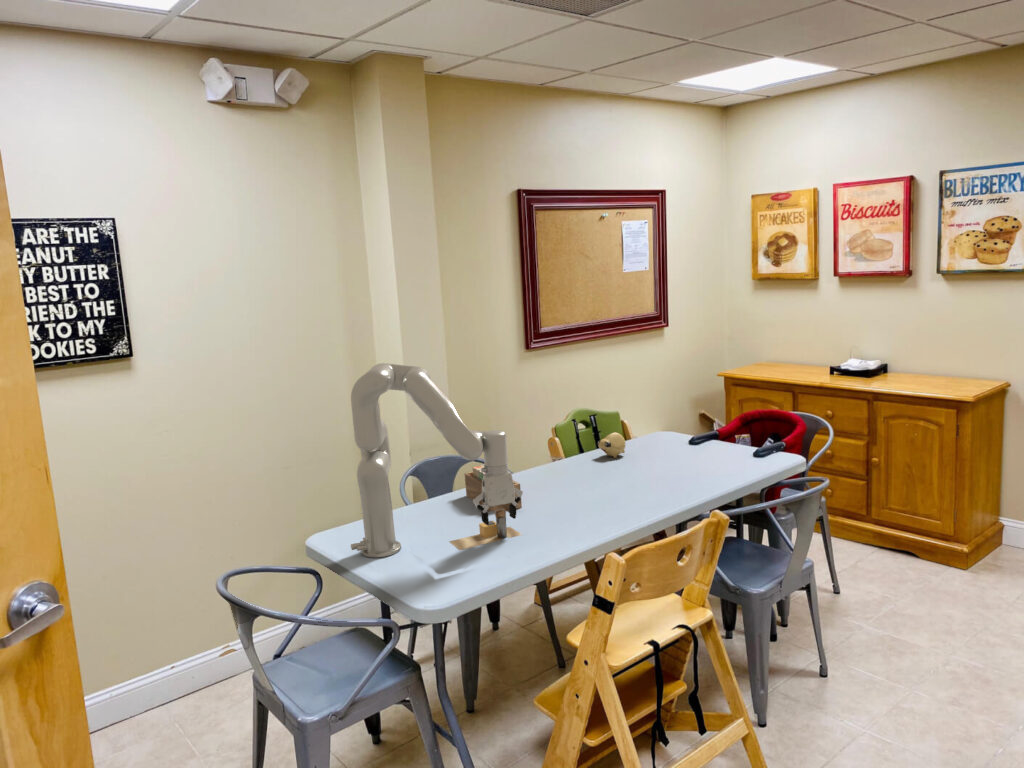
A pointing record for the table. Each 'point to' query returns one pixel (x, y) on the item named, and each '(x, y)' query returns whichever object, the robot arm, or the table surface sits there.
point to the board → (480, 539)
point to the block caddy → (476, 489)
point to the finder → (488, 529)
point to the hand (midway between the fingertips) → (499, 520)
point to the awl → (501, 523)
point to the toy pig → (612, 444)
